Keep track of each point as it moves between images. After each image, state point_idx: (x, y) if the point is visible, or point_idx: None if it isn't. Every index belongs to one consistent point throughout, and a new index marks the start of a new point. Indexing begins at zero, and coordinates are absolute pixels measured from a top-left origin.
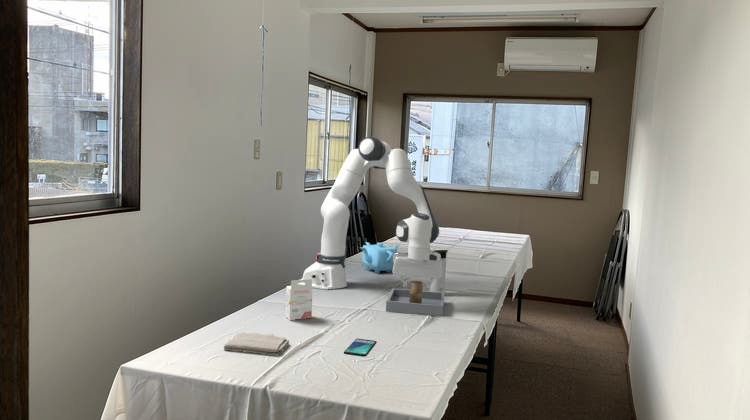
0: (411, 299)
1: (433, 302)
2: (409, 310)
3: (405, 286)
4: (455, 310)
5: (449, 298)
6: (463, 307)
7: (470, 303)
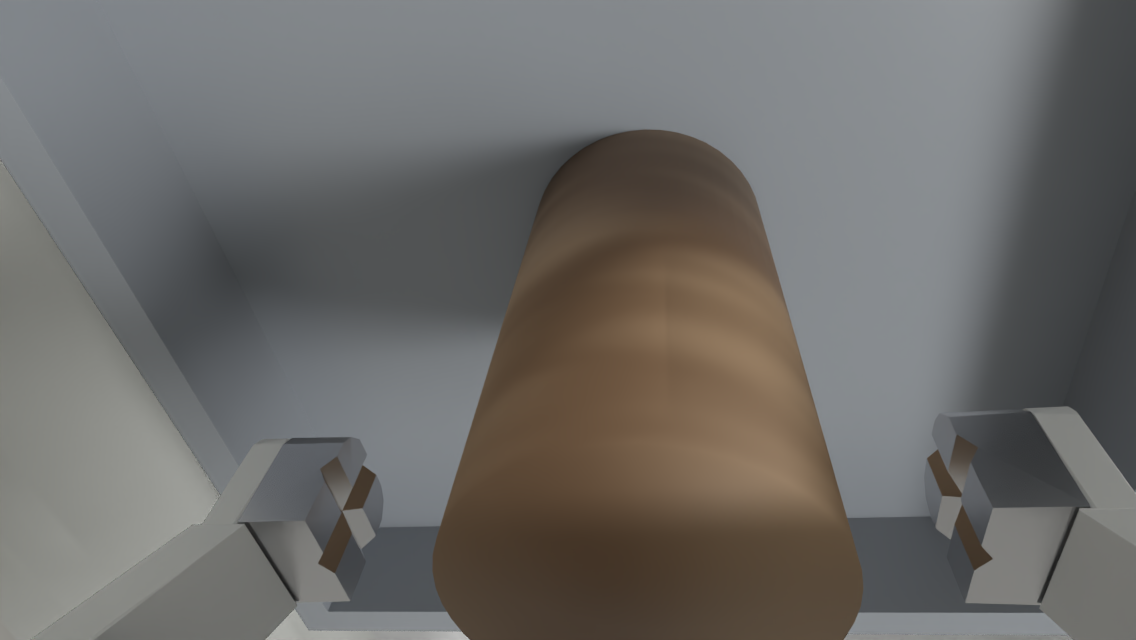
0: (723, 192)
1: (404, 407)
2: None
3: (988, 414)
4: (38, 244)
5: (355, 632)
6: (55, 407)
7: (98, 552)
